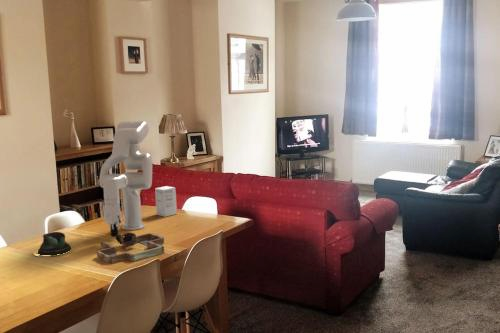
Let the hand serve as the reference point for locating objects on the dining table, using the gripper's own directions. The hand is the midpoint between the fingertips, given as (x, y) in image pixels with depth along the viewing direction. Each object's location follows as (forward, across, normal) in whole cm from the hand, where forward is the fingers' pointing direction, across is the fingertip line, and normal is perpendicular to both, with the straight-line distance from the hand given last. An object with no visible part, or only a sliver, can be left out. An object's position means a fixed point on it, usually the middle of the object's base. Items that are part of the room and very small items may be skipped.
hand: (114, 236), depth 265 cm
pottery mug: (+4, +10, +1) cm, 10 cm away
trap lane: (+4, +17, 0) cm, 17 cm away
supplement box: (+4, -30, +52) cm, 60 cm away
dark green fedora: (+4, -10, -27) cm, 29 cm away
